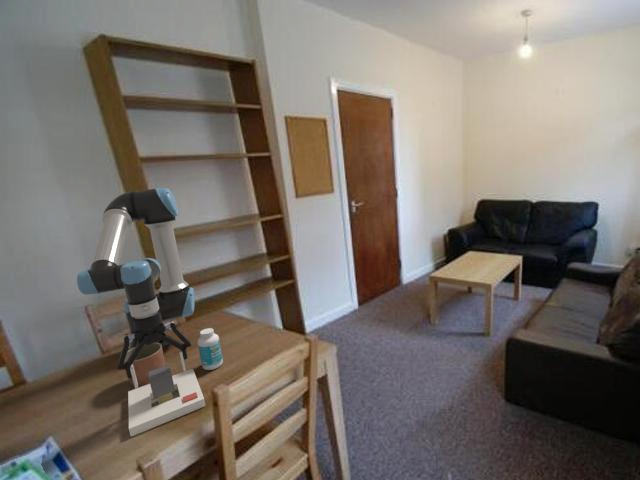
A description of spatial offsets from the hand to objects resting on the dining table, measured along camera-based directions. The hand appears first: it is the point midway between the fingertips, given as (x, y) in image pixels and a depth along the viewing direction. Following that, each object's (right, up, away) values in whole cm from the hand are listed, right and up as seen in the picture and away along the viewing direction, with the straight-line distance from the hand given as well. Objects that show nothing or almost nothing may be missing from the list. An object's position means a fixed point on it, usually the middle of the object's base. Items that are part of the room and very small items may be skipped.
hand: (161, 377), depth 105 cm
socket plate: (+1, -8, +1) cm, 8 cm away
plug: (+1, -8, +1) cm, 8 cm away
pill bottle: (+10, -4, +20) cm, 22 cm away
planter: (-11, -7, +15) cm, 20 cm away
